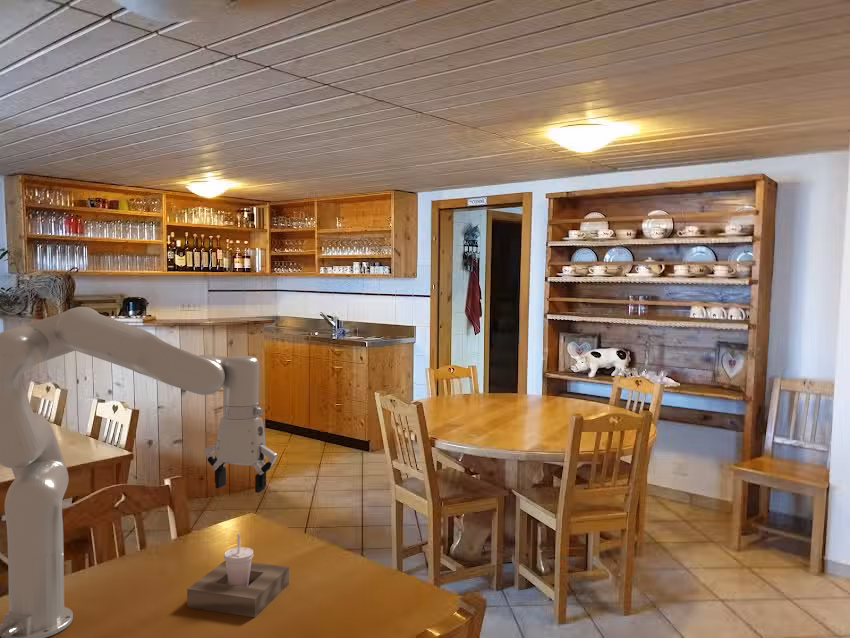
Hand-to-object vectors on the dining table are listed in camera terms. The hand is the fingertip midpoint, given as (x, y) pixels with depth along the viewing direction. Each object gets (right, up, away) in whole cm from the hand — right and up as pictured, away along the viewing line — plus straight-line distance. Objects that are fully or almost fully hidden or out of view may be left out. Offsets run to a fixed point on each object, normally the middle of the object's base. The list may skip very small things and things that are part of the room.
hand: (240, 488), depth 144 cm
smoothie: (-1, -24, +1) cm, 24 cm away
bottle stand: (0, -24, +1) cm, 24 cm away
